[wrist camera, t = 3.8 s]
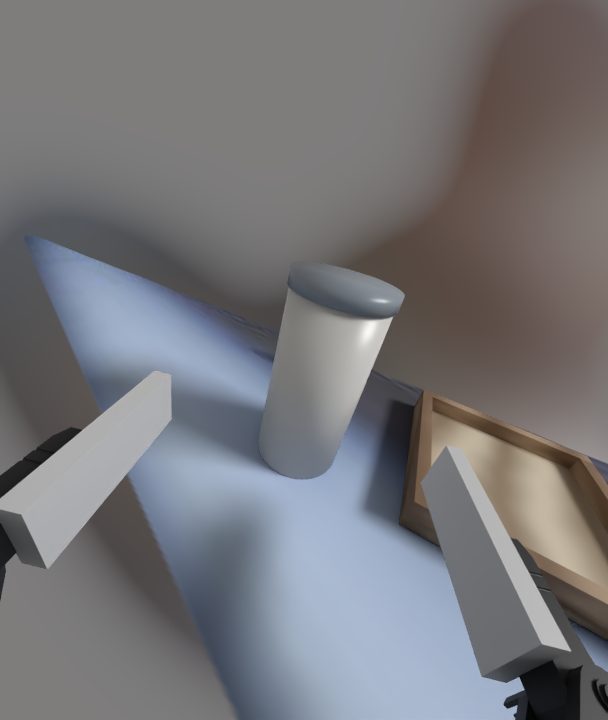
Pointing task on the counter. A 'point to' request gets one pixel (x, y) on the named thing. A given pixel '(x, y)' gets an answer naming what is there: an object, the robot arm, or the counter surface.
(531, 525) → the tray
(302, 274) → the canister
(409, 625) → the counter surface
